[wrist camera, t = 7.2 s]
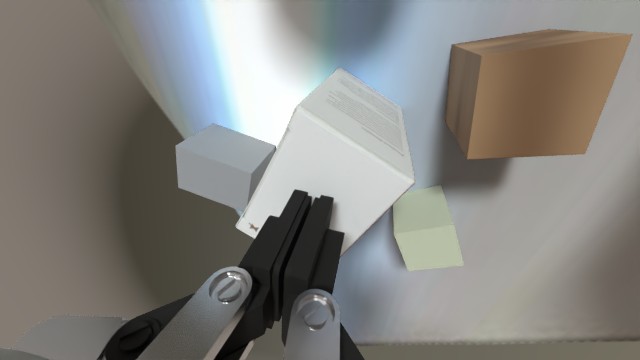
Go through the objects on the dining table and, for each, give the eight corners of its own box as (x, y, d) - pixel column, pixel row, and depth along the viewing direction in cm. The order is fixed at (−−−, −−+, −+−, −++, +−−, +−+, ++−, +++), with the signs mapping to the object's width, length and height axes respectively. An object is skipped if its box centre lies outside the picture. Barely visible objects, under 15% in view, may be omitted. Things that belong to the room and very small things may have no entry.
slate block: (276, 145, 22) (251, 173, 18) (269, 180, 25) (246, 212, 21) (213, 123, 23) (175, 145, 19) (212, 159, 25) (178, 187, 21)
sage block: (440, 184, 21) (454, 224, 17) (449, 220, 23) (464, 265, 18) (392, 195, 22) (393, 234, 18) (404, 228, 24) (408, 270, 20)
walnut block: (548, 29, 14) (632, 34, 9) (526, 114, 17) (584, 154, 12) (451, 44, 16) (481, 55, 11) (445, 121, 18) (467, 159, 13)
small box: (345, 181, 23) (320, 280, 14) (292, 148, 22) (231, 230, 14) (404, 106, 18) (421, 184, 10) (340, 63, 18) (295, 104, 9)
